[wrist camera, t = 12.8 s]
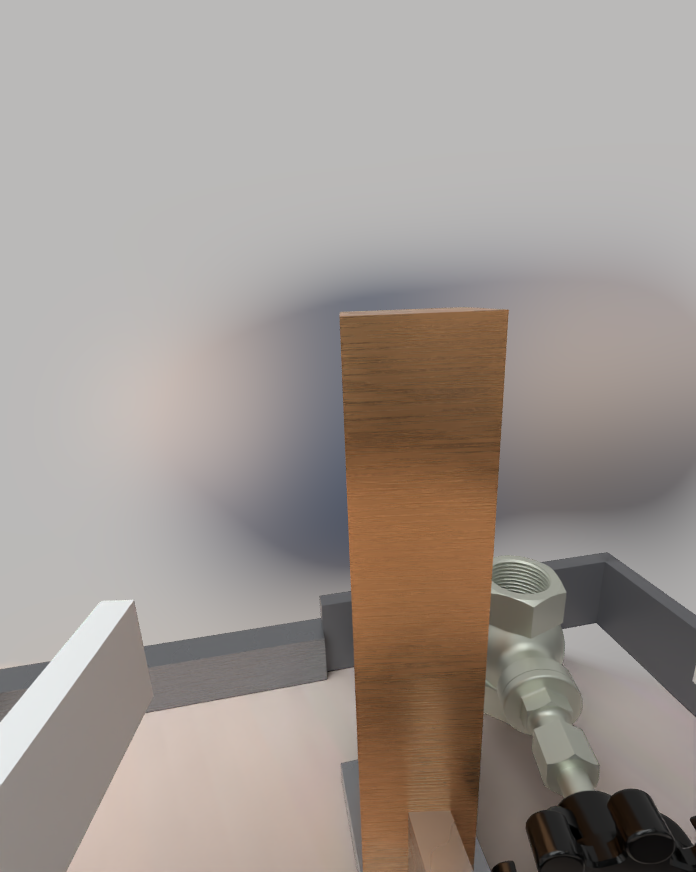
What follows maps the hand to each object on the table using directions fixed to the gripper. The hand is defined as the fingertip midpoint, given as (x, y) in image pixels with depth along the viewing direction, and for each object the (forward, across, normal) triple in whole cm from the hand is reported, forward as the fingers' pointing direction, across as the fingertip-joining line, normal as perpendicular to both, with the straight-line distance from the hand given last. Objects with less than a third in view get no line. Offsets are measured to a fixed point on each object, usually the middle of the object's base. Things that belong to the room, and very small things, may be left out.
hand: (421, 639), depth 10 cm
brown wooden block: (+2, 0, -11) cm, 11 cm away
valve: (+5, +5, -11) cm, 13 cm away
